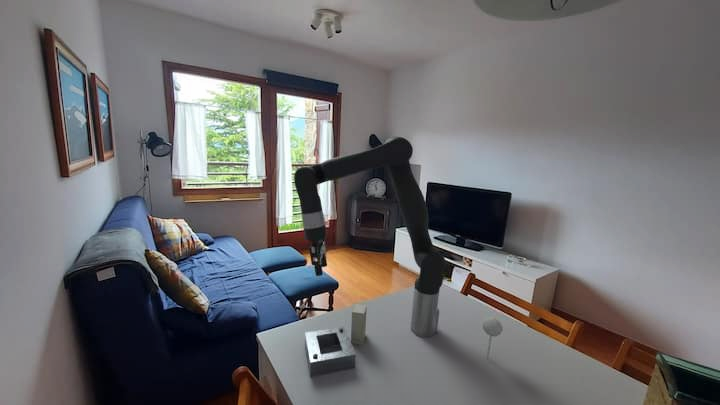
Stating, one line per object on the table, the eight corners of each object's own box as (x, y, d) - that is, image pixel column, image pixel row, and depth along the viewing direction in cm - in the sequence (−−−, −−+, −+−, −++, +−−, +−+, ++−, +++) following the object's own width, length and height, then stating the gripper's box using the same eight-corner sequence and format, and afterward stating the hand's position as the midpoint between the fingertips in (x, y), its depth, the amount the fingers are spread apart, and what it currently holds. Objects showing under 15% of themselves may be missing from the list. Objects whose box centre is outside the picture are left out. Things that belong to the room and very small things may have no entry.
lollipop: (496, 355, 96) (502, 316, 93) (498, 367, 90) (505, 326, 87) (476, 350, 98) (482, 311, 95) (478, 361, 92) (484, 321, 89)
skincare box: (362, 345, 97) (364, 314, 95) (350, 343, 98) (351, 312, 96) (365, 334, 103) (367, 304, 101) (354, 332, 104) (355, 302, 102)
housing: (344, 338, 100) (344, 325, 99) (354, 368, 87) (355, 353, 86) (304, 345, 96) (305, 331, 95) (310, 377, 83) (310, 361, 82)
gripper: (321, 228, 87) (329, 277, 88) (328, 219, 101) (335, 262, 102) (297, 231, 87) (306, 280, 89) (308, 222, 101) (315, 265, 103)
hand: (321, 270), depth 96 cm, fingers open, 8 cm apart
